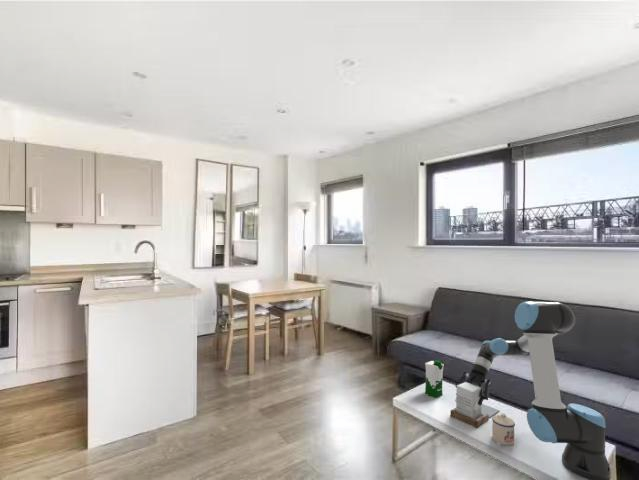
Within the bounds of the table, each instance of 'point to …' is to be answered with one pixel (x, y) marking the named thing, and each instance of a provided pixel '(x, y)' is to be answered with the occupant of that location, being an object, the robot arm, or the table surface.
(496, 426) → the teacup with lid
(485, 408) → the slate mat
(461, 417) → the walnut cradle
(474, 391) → the supplement box
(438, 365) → the milk carton
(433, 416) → the table surface
